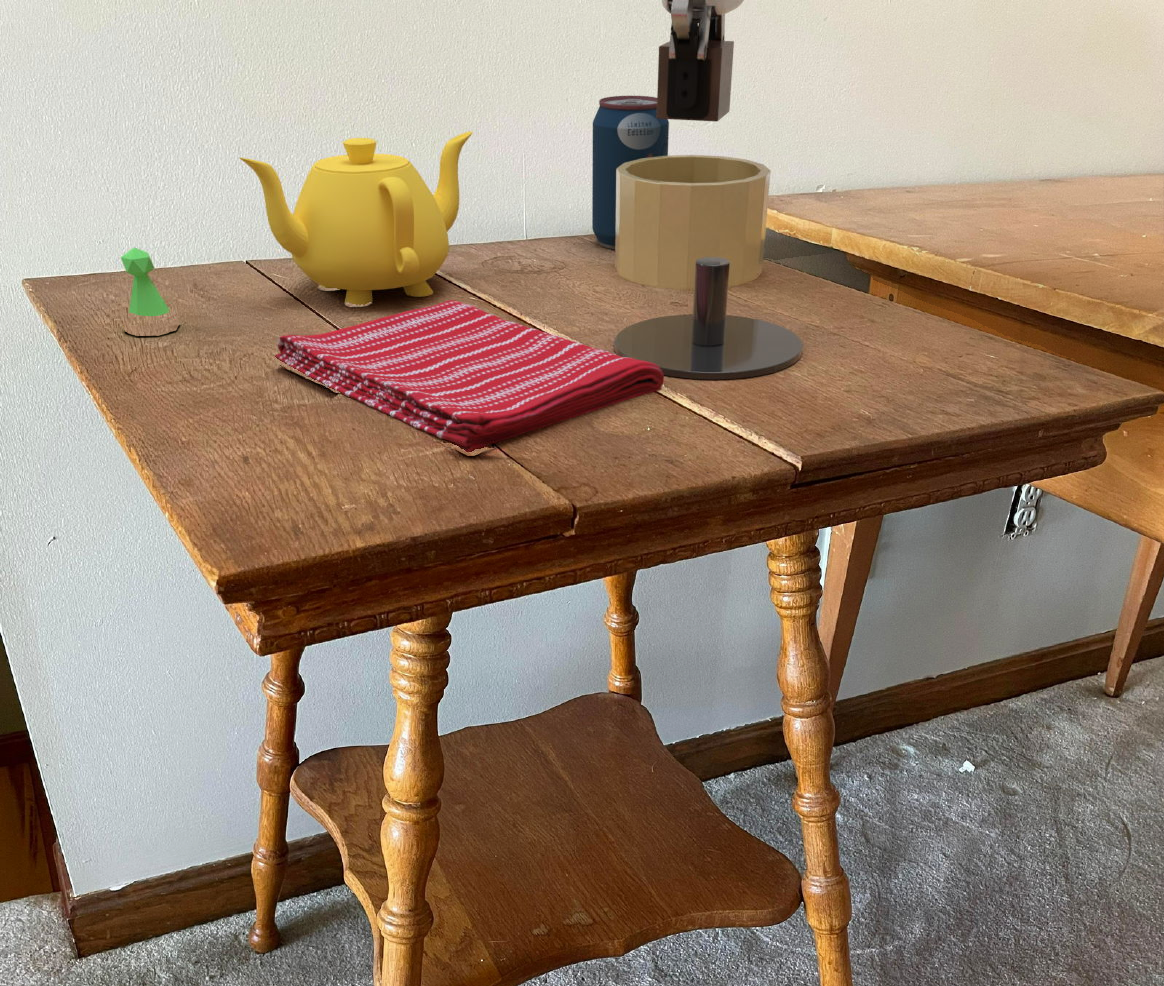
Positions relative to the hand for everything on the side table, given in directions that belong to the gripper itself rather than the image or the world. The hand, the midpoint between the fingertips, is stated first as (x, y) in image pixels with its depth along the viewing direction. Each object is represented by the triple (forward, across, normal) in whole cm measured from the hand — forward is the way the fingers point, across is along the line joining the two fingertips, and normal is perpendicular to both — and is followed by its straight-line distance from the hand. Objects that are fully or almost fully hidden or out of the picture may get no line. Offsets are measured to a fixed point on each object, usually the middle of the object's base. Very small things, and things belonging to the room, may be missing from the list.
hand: (694, 109), depth 97 cm
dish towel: (+13, -31, +9) cm, 35 cm away
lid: (+12, -21, -6) cm, 25 cm away
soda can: (+13, +10, +8) cm, 18 cm away
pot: (+13, 0, 0) cm, 13 cm away
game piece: (+13, -26, +37) cm, 47 cm away
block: (0, 0, 0) cm, 0 cm away
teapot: (+13, -12, +24) cm, 30 cm away
